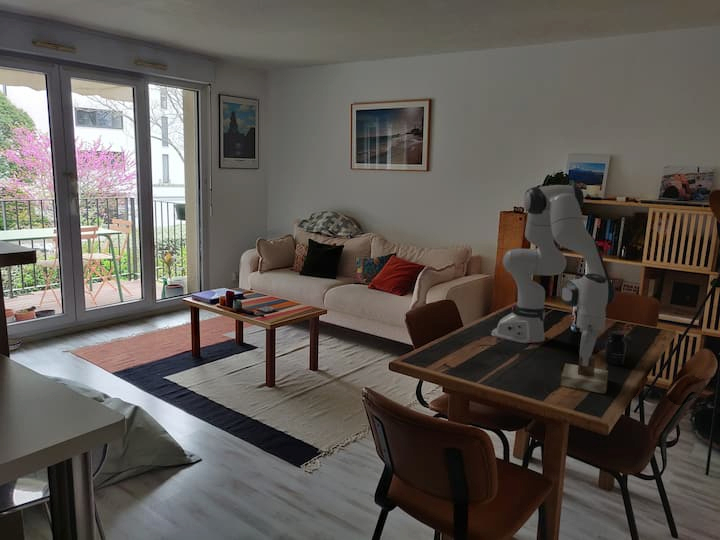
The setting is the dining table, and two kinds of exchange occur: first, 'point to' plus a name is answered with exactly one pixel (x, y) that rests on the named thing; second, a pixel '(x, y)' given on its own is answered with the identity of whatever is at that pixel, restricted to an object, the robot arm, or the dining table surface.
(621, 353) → the supplement bottle
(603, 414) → the dining table surface
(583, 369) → the walnut block
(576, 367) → the ash platform
